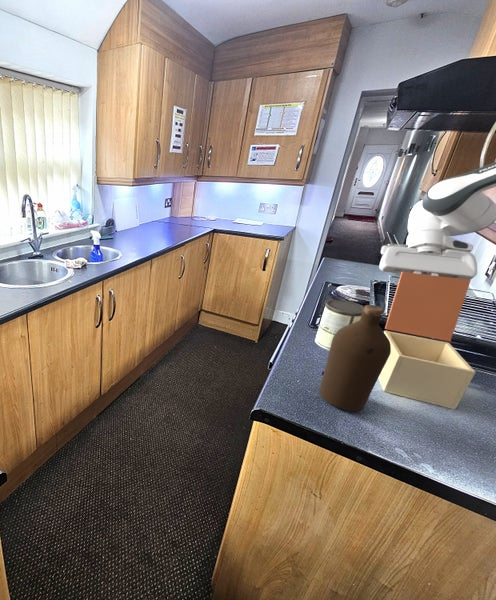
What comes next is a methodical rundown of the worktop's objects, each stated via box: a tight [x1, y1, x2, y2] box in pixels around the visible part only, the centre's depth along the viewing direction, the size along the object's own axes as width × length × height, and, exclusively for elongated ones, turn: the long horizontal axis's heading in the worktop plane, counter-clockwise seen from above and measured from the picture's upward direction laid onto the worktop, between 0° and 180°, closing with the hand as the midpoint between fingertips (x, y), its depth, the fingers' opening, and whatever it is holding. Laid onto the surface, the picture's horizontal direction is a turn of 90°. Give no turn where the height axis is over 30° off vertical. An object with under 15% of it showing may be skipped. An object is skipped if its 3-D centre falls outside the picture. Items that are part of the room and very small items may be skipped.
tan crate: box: [377, 330, 476, 410], centre depth 86 cm, size 16×14×11 cm
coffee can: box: [314, 298, 365, 351], centre depth 103 cm, size 10×10×14 cm
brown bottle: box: [318, 304, 391, 412], centre depth 76 cm, size 11×11×25 cm
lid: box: [384, 272, 472, 342], centre depth 88 cm, size 16×14×1 cm
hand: (423, 288), depth 92 cm, fingers closed
